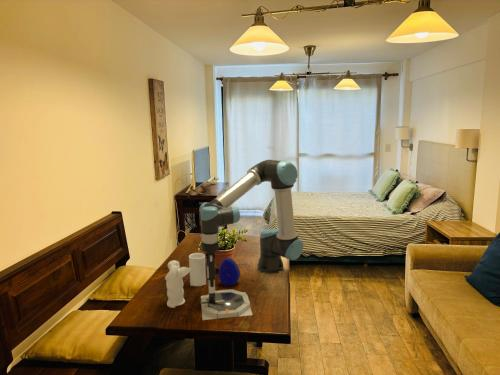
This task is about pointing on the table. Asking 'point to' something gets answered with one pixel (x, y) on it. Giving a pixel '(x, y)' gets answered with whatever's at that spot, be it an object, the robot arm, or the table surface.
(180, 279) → the cherub figurine
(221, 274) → the ornament
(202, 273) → the cup
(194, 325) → the table surface
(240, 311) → the grey octagonal tray
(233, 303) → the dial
